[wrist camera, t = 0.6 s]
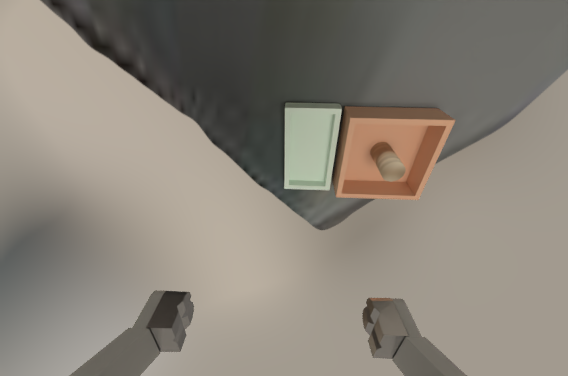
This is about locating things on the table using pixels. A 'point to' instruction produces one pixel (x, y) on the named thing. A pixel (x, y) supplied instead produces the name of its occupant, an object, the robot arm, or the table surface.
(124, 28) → the table surface
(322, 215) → the table surface
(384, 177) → the birch cylinder
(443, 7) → the table surface
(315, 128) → the green tray
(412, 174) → the orange hollow square box
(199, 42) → the table surface
